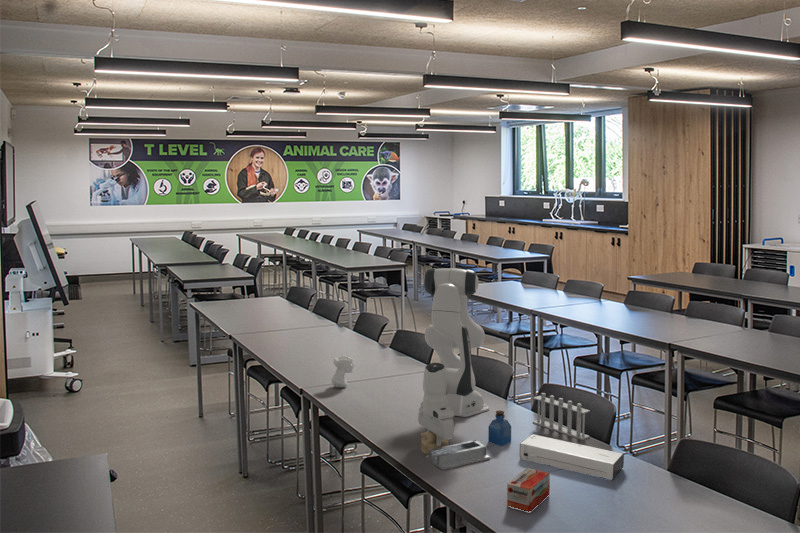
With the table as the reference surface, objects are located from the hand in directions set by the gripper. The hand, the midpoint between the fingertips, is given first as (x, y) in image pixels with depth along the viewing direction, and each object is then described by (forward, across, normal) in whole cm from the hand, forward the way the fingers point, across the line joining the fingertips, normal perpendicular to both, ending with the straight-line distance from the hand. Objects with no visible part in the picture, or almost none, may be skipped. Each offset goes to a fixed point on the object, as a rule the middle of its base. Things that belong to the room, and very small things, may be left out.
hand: (435, 443), depth 256 cm
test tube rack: (+3, +6, +55) cm, 55 cm away
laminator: (+3, +34, +35) cm, 49 cm away
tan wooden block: (+3, 0, 0) cm, 3 cm away
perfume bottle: (+3, +5, +26) cm, 27 cm away
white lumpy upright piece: (+3, -90, +1) cm, 90 cm away
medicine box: (+3, +50, +4) cm, 50 cm away
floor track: (+3, +11, +3) cm, 12 cm away
